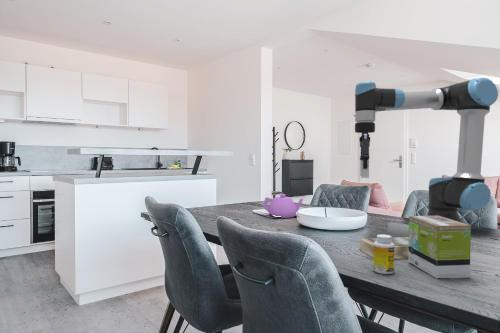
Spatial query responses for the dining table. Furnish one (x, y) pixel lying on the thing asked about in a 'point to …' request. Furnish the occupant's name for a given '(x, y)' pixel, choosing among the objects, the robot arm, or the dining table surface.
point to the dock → (399, 242)
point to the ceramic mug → (398, 230)
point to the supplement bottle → (383, 255)
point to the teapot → (282, 206)
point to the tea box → (440, 246)
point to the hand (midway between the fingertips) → (364, 176)
